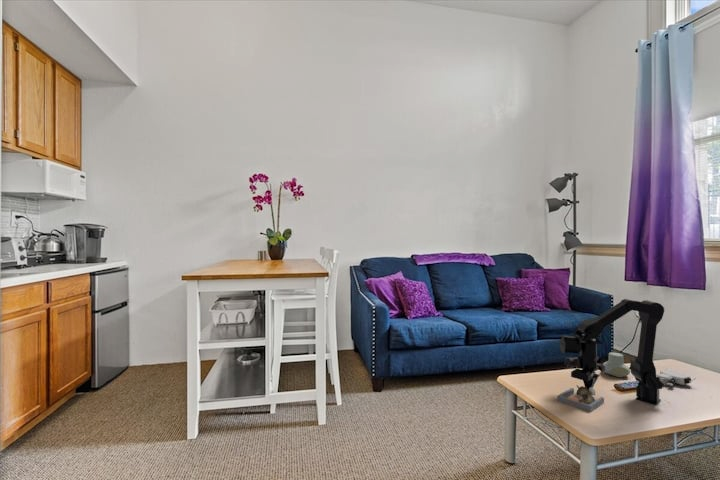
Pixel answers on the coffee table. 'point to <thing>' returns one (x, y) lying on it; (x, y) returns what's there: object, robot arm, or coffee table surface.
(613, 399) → the coffee table surface
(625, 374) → the air freshener
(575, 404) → the pocket
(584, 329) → the robot arm
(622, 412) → the coffee table surface
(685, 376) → the robot toy
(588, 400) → the eagle figurine
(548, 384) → the coffee table surface
